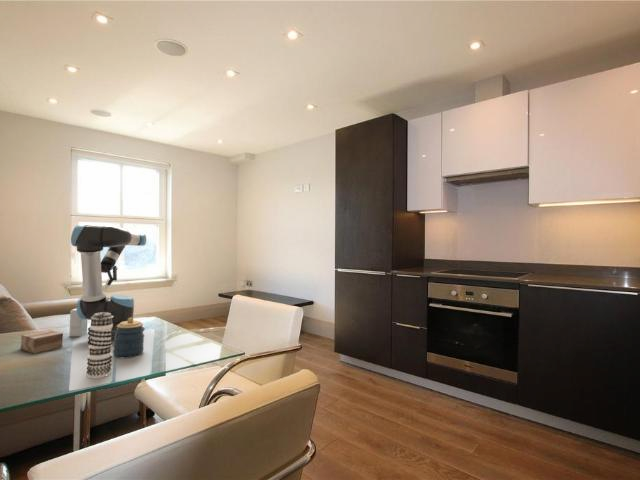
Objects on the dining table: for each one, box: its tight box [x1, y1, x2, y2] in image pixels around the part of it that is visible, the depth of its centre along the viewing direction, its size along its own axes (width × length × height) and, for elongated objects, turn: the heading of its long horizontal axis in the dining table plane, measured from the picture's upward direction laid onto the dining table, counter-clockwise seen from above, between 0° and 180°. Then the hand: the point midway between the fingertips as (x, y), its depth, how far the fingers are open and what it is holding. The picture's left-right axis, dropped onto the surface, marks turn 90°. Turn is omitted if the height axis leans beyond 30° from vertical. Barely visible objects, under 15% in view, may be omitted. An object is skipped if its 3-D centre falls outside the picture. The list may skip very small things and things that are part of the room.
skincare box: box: [68, 308, 88, 337], centre depth 193 cm, size 8×6×15 cm
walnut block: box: [20, 329, 64, 354], centre depth 168 cm, size 12×12×7 cm
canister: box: [112, 317, 145, 359], centre depth 165 cm, size 13×13×18 cm
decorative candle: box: [86, 312, 115, 379], centre depth 139 cm, size 9×9×25 cm
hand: (93, 288), depth 202 cm, fingers open, 13 cm apart
